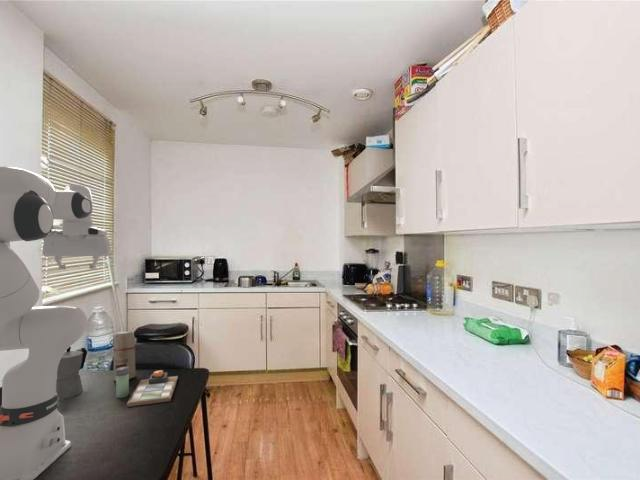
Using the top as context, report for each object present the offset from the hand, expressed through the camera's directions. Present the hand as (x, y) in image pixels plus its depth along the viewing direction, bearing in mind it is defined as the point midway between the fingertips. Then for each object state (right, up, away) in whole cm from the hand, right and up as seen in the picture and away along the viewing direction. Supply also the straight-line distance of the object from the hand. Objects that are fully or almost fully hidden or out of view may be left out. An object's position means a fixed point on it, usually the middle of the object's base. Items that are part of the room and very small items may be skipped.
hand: (77, 269), depth 121 cm
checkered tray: (+24, -48, +8) cm, 54 cm away
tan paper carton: (+4, -49, +22) cm, 54 cm away
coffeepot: (-8, -49, +8) cm, 50 cm away
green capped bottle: (+13, -48, +5) cm, 50 cm away
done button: (+22, -45, +15) cm, 52 cm away
